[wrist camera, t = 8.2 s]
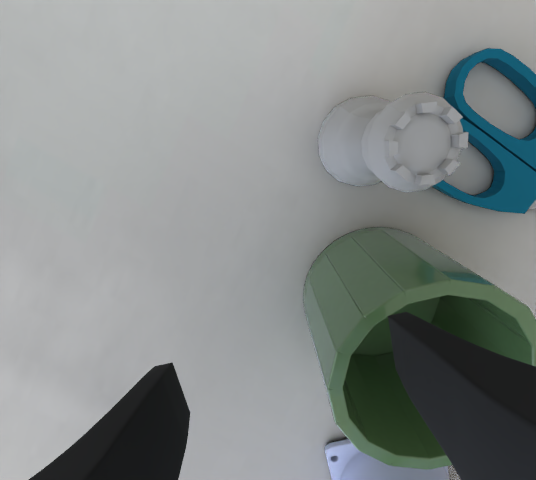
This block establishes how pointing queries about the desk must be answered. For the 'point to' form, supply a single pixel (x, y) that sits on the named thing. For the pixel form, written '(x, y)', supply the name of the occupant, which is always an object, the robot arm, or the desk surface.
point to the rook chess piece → (392, 141)
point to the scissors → (496, 138)
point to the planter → (379, 339)
